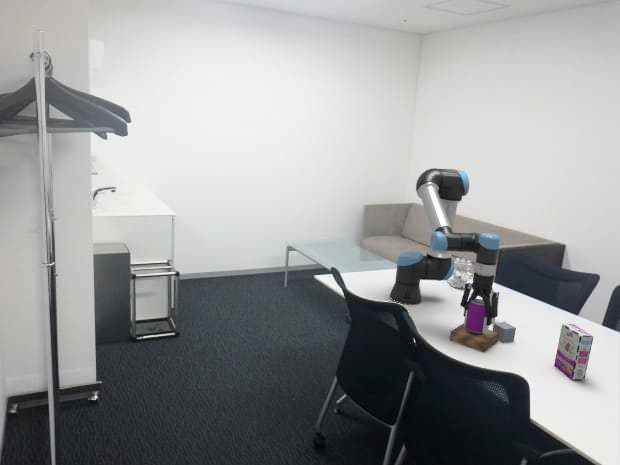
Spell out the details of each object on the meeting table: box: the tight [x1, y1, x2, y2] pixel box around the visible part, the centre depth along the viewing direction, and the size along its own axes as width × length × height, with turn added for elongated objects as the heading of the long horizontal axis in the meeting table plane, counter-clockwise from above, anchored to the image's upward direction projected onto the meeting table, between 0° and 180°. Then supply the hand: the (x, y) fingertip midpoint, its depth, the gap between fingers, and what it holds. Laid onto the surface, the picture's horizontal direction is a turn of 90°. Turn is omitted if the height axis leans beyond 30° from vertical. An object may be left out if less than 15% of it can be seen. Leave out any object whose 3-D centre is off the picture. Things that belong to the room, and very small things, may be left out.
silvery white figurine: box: [446, 257, 474, 290], centre depth 267 cm, size 20×10×18 cm, turn 2°
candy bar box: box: [554, 323, 594, 381], centre depth 172 cm, size 11×5×16 cm, turn 5°
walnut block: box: [449, 323, 499, 353], centre depth 194 cm, size 14×14×4 cm
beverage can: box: [466, 298, 487, 333], centre depth 193 cm, size 8×8×12 cm
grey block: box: [492, 321, 517, 344], centre depth 199 cm, size 6×6×6 cm
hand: (475, 328), depth 194 cm, fingers closed on beverage can, 8 cm apart
